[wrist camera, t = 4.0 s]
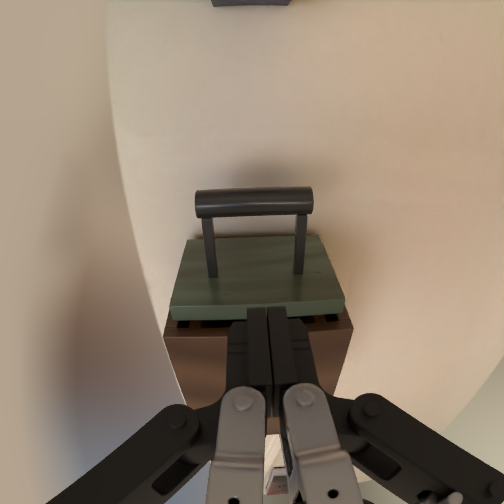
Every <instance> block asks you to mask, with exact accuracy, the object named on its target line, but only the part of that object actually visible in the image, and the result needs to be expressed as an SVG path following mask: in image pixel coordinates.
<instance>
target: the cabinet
mask: <svg viewBox="0 0 504 504" xmlns="http://www.w3.org/2000/svg"><path fill="white" fill-rule="evenodd" d="M324 315H325V318H326V321H327V322H319V323H306V324H304V325H305V326H306V327H307V330H308V334H309V341H310V344H311V349H312V353H313V357H314V362H315V367H316V372H317V377H318V381H319V384H320V386H321V387H322V389H323V390H324V391H325V392H327V393H328V394H330V395H332V396H333V394H334V391H335V388H336V385H337V382H338V379H339V376H340V373H341V370H342V367H343V363H344V360H345V357H346V354H347V350H348V347H349V343H350V340H351V336H352V333H353V329H354V328H353V325H352V322H351V320H350V317H349V315H348V312H347V310H346V307H345V304H344V308H343V312H342V313H336V314H324ZM189 324H190V320H173V319H172V315H171V311H170V309H169V314H168V318H167V322H166V326H165V330H164V334H163V339H164V342H165V345H166V348H167V351H168V354H169V357H170V360H171V363H172V366H173V368H174V371H175V374H176V377H177V380H178V382H179V385H180V388H181V391H182V393H183V396H184V399H185V401H186V404H187V406H189V407H190V408H192V409H193V410H195V409H198V408H202V407H206V406H209V405H211V404H213V403H215V402H217V401H218V400H219V399H220V398H221V397H222V395H223V394H224V392H225V388H226V363H227V334H228V330H229V328H230V327H223V328H189ZM279 433H280V423H279V417H274V418H273V415H272V405H271V418H267V435H272V434H279Z"/></svg>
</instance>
